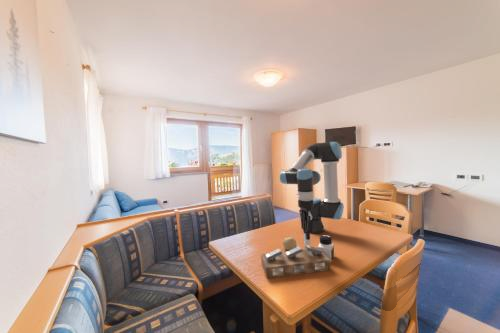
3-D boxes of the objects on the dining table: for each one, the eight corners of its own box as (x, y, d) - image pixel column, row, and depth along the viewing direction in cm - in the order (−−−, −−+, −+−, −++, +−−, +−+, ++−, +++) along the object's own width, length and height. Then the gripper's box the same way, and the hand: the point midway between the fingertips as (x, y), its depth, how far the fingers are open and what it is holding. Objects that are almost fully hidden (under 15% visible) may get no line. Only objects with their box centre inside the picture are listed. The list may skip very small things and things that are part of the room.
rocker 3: (318, 251, 104) (319, 248, 104) (321, 254, 101) (322, 251, 101) (304, 248, 103) (305, 244, 103) (307, 250, 100) (308, 247, 100)
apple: (292, 253, 114) (284, 241, 115) (285, 253, 121) (278, 241, 122) (301, 245, 118) (293, 233, 119) (293, 245, 125) (287, 235, 126)
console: (318, 256, 109) (317, 245, 109) (330, 270, 96) (330, 257, 96) (261, 263, 105) (260, 251, 105) (266, 278, 92) (266, 264, 92)
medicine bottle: (331, 262, 103) (331, 240, 103) (317, 259, 107) (317, 238, 107) (334, 256, 109) (333, 235, 109) (320, 253, 113) (320, 233, 113)
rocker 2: (300, 248, 103) (298, 245, 102) (302, 251, 99) (301, 248, 99) (286, 255, 102) (285, 252, 102) (288, 258, 99) (287, 255, 98)
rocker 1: (280, 250, 101) (279, 247, 101) (282, 253, 98) (281, 250, 98) (266, 257, 100) (265, 254, 100) (268, 260, 97) (266, 257, 97)
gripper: (294, 197, 106) (295, 240, 107) (303, 202, 93) (305, 251, 94) (307, 196, 107) (308, 238, 108) (318, 201, 94) (320, 249, 95)
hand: (307, 244), depth 101 cm, fingers closed
